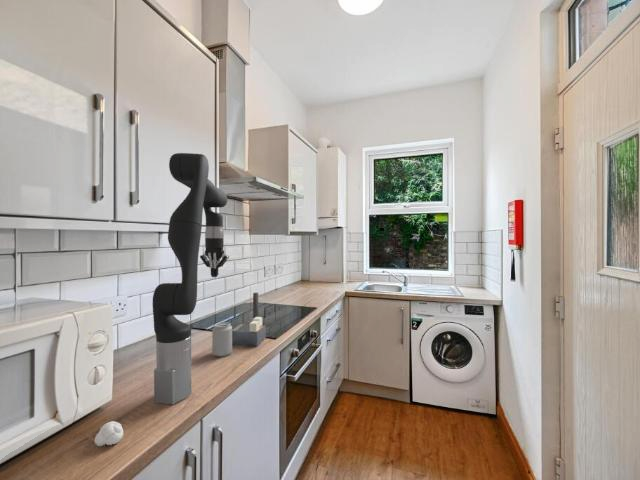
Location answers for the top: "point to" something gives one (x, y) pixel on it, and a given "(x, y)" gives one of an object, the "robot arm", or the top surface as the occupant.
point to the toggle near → (254, 326)
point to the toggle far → (258, 320)
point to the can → (222, 339)
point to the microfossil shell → (109, 434)
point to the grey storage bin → (248, 335)
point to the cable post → (255, 305)
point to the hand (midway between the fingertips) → (214, 276)
